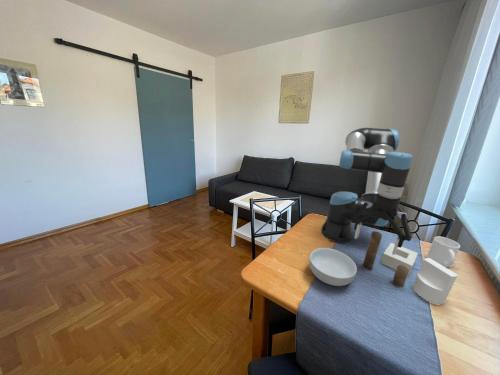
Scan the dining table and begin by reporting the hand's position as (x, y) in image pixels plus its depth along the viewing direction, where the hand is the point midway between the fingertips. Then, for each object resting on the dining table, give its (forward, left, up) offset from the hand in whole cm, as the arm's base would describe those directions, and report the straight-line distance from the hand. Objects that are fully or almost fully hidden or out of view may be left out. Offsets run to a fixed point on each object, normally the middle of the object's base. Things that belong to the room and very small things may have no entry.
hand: (374, 244), depth 81 cm
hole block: (+8, +13, -11) cm, 19 cm away
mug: (+21, +27, -11) cm, 36 cm away
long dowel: (0, 0, -11) cm, 11 cm away
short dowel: (+11, -1, -11) cm, 15 cm away
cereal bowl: (-8, -17, -11) cm, 22 cm away
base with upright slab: (+19, +2, -11) cm, 23 cm away
